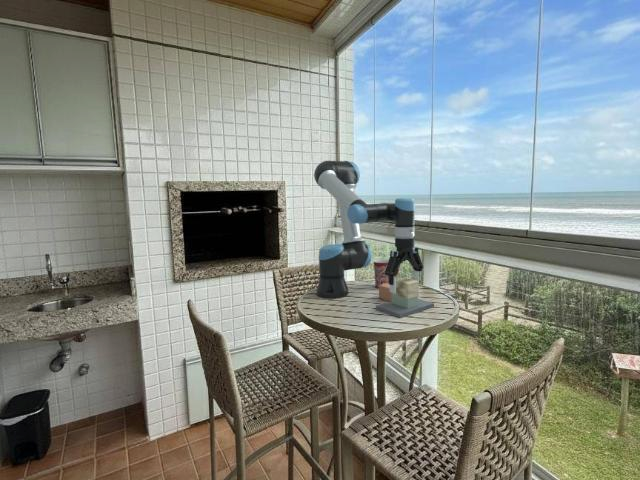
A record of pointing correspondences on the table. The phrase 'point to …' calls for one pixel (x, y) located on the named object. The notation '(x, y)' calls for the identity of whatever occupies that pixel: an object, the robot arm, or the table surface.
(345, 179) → the robot arm
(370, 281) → the table surface
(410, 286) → the maple brick
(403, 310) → the baseplate
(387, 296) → the terracotta brick
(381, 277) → the mug
